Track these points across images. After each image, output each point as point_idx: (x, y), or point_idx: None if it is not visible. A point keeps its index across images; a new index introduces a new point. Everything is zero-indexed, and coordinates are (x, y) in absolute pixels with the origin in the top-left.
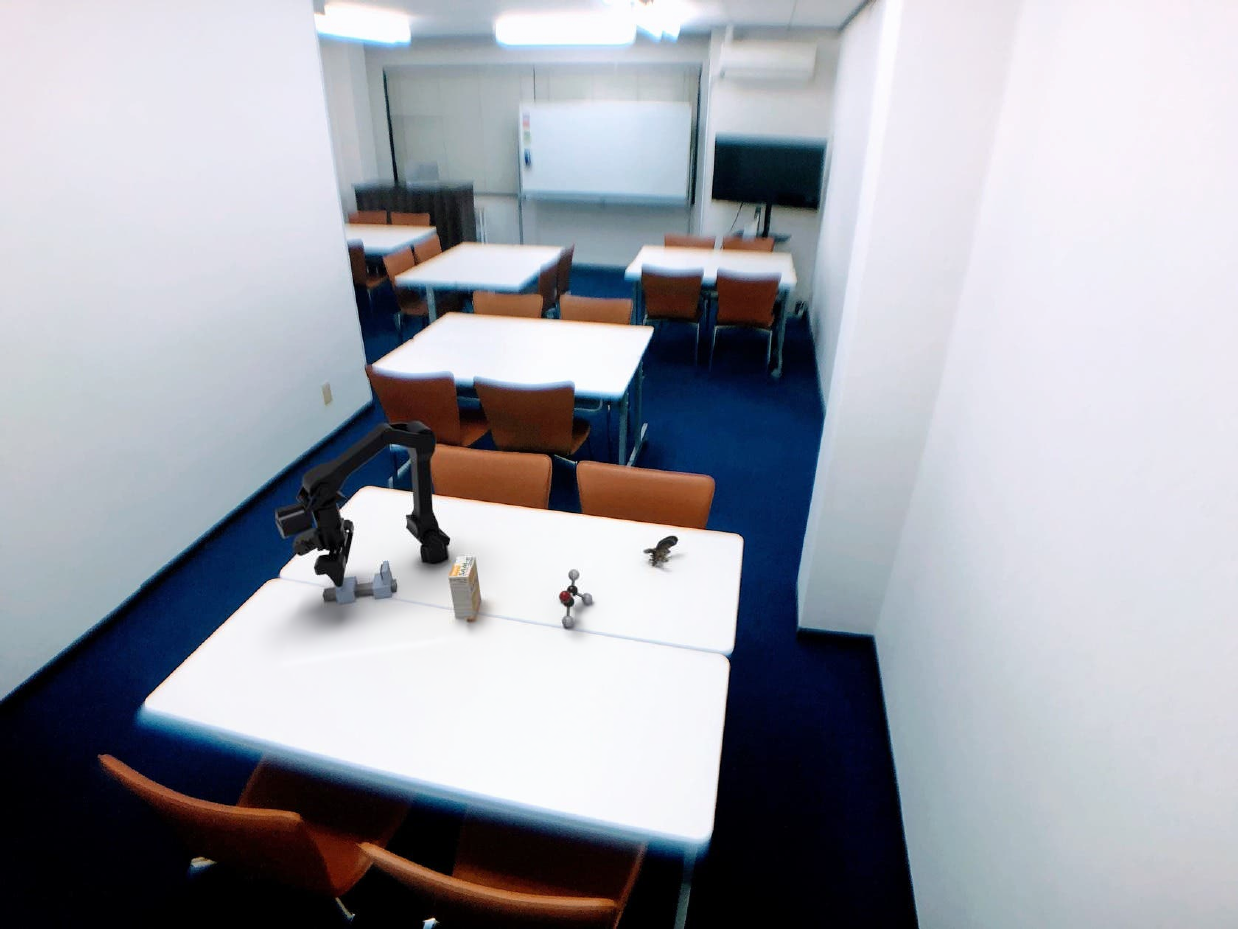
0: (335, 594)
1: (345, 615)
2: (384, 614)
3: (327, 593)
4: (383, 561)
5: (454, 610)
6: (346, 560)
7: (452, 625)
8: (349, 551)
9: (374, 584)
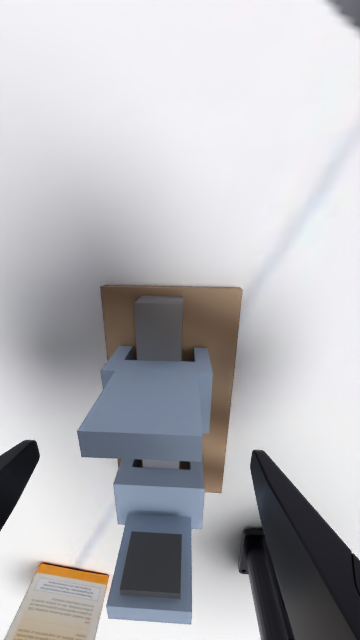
0: (138, 350)
1: (81, 361)
2: (76, 452)
3: (142, 322)
4: (189, 612)
5: (18, 609)
6: (257, 494)
7: (30, 556)
8: (289, 617)
9: (137, 489)
